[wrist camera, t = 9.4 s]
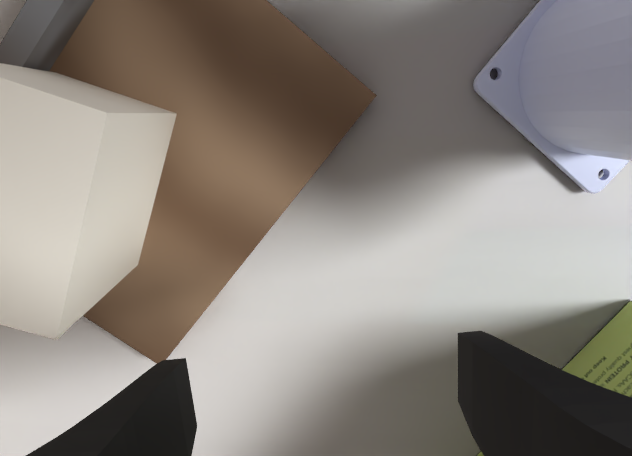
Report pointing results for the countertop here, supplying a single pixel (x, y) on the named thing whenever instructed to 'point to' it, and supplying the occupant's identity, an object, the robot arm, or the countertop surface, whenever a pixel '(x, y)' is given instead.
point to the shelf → (198, 134)
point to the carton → (71, 194)
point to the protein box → (607, 356)
